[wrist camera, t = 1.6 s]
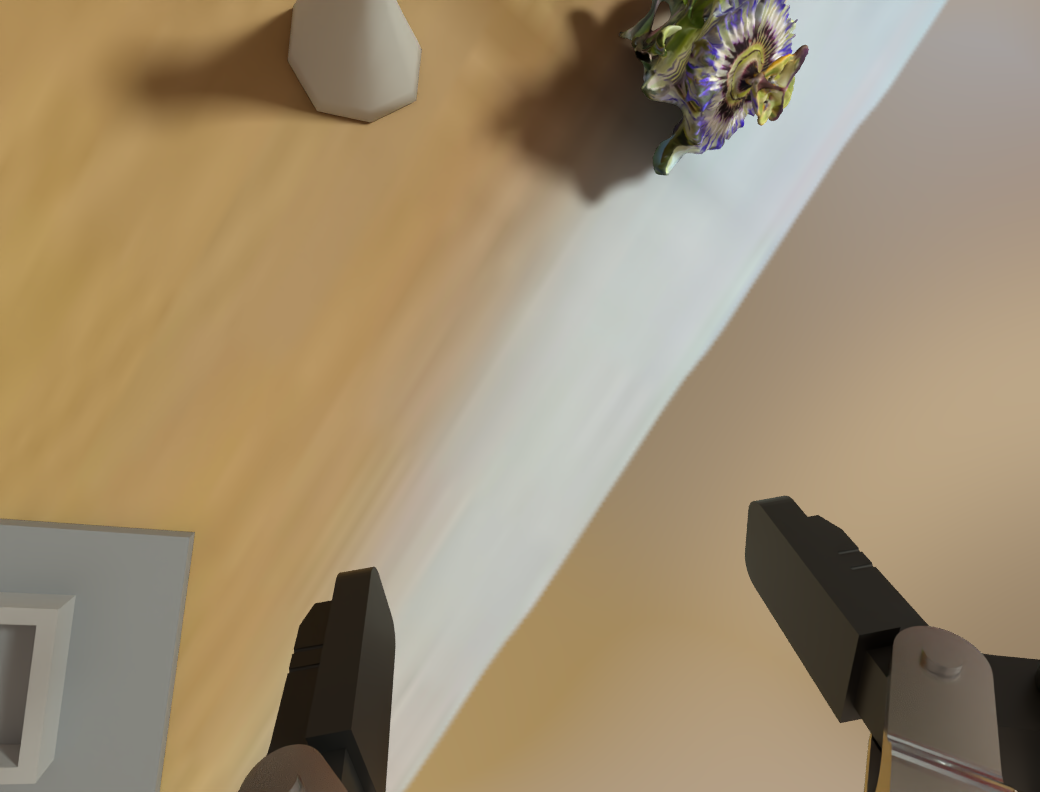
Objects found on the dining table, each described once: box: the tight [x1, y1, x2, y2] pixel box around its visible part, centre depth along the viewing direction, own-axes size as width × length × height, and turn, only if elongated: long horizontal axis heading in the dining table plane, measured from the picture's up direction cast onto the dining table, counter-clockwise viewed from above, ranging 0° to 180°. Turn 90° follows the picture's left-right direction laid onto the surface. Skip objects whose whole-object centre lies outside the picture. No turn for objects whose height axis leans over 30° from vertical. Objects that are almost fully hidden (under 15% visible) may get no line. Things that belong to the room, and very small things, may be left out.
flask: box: [288, 0, 422, 122], centre depth 29 cm, size 7×7×10 cm
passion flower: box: [619, 0, 809, 175], centre depth 35 cm, size 11×11×12 cm
